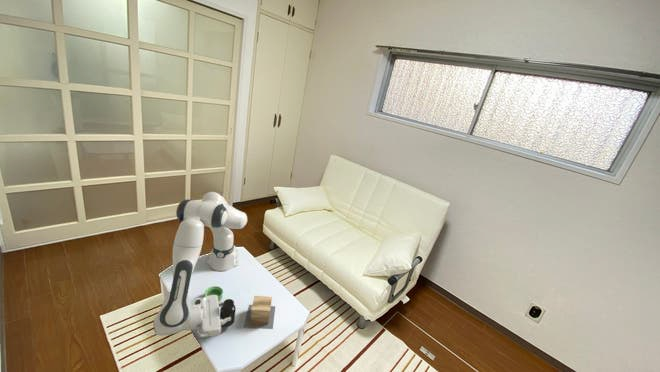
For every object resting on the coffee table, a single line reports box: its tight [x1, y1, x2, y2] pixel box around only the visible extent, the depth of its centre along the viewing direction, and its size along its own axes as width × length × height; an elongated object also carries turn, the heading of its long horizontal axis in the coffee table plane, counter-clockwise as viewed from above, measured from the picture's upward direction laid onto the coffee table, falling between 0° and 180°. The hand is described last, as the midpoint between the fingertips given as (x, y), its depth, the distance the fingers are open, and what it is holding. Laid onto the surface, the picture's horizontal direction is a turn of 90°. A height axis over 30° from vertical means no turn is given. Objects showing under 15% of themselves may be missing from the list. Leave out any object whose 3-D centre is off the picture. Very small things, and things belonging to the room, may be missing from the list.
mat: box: [243, 304, 276, 330], centre depth 137 cm, size 14×14×1 cm
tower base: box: [250, 317, 269, 324], centre depth 136 cm, size 9×9×4 cm
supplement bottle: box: [219, 298, 237, 328], centre depth 125 cm, size 7×7×12 cm
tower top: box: [251, 295, 273, 318], centre depth 134 cm, size 9×9×4 cm
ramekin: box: [204, 285, 224, 302], centre depth 141 cm, size 9×9×4 cm
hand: (229, 310), depth 125 cm, fingers closed on supplement bottle, 7 cm apart
